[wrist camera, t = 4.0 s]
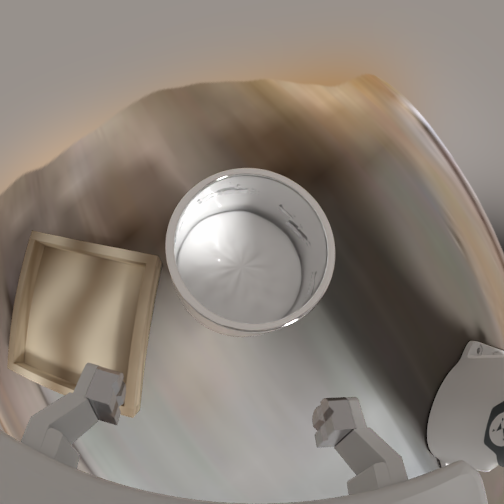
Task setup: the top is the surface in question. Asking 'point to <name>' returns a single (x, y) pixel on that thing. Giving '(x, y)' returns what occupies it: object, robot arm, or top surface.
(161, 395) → the top surface
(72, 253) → the oak tray
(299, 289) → the beer glass
